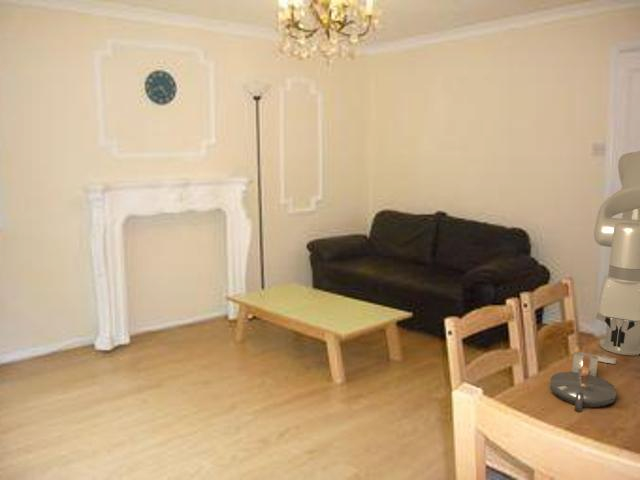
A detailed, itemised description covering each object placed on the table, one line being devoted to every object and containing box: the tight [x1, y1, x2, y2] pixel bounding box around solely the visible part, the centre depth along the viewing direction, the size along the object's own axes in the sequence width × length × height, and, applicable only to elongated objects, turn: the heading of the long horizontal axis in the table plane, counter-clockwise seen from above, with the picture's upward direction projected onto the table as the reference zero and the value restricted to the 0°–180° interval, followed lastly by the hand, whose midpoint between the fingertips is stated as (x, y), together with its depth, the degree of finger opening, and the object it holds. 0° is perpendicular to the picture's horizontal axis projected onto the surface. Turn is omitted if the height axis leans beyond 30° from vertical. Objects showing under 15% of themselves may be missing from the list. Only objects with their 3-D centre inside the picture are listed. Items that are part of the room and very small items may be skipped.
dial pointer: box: [574, 390, 584, 413], centre depth 140 cm, size 3×2×4 cm, turn 152°
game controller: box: [594, 354, 617, 369], centre depth 167 cm, size 6×12×3 cm, turn 171°
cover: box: [571, 351, 599, 377], centre depth 158 cm, size 6×6×6 cm
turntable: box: [549, 355, 617, 406], centre depth 146 cm, size 15×15×7 cm
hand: (616, 345), depth 146 cm, fingers closed
